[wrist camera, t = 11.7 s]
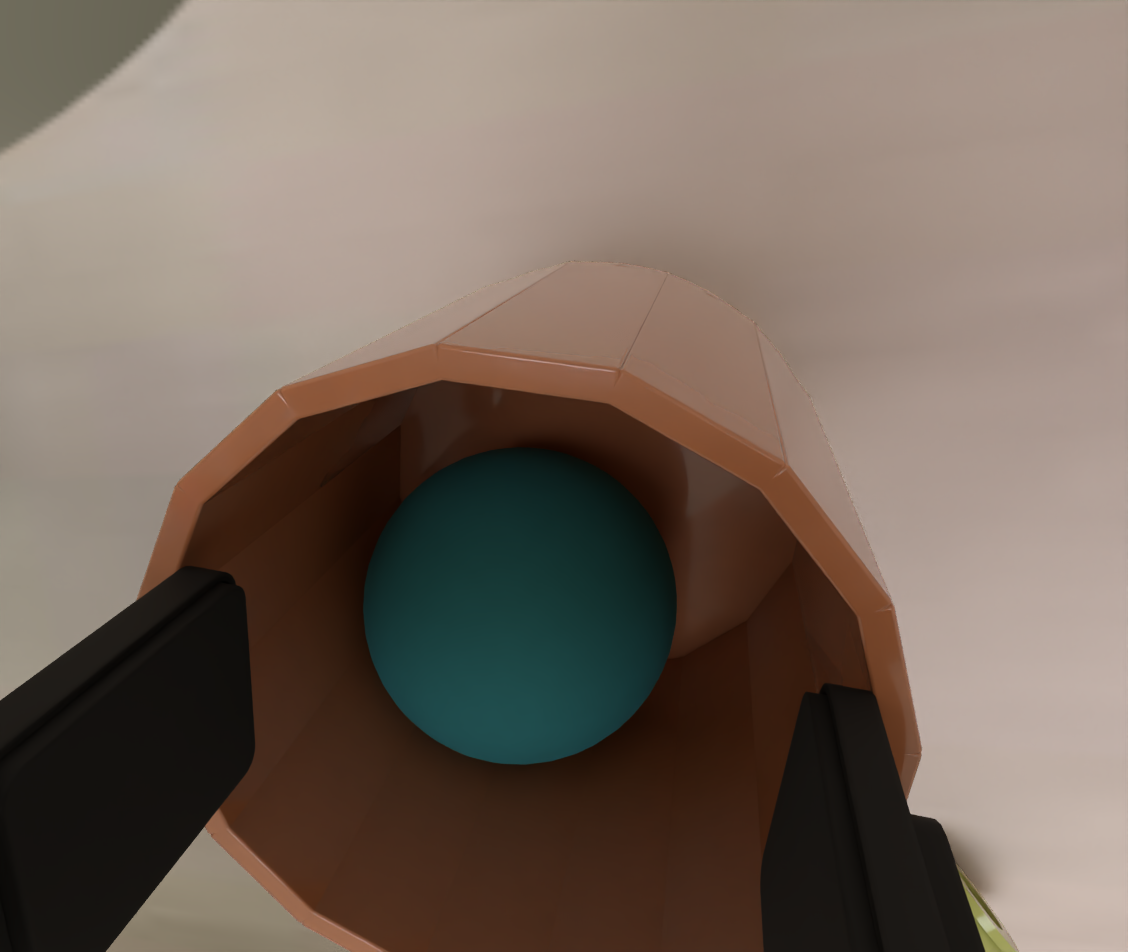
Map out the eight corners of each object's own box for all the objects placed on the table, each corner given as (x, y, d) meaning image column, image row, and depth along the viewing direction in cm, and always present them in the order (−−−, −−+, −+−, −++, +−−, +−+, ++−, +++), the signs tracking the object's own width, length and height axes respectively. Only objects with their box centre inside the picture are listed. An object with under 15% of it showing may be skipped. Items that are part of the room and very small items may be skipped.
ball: (736, 435, 14) (589, 713, 10) (708, 627, 18) (596, 874, 15) (453, 354, 16) (248, 561, 13) (487, 543, 21) (340, 741, 17)
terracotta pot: (867, 291, 16) (1032, 425, 8) (773, 697, 19) (814, 1087, 11) (397, 236, 17) (95, 296, 9) (391, 625, 21) (173, 929, 12)
